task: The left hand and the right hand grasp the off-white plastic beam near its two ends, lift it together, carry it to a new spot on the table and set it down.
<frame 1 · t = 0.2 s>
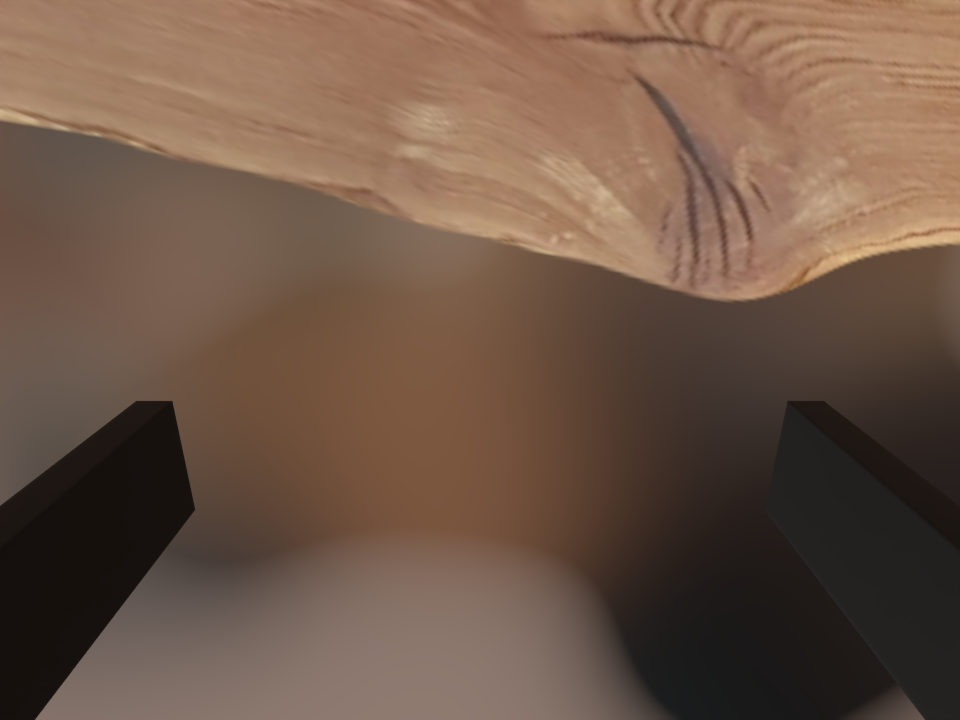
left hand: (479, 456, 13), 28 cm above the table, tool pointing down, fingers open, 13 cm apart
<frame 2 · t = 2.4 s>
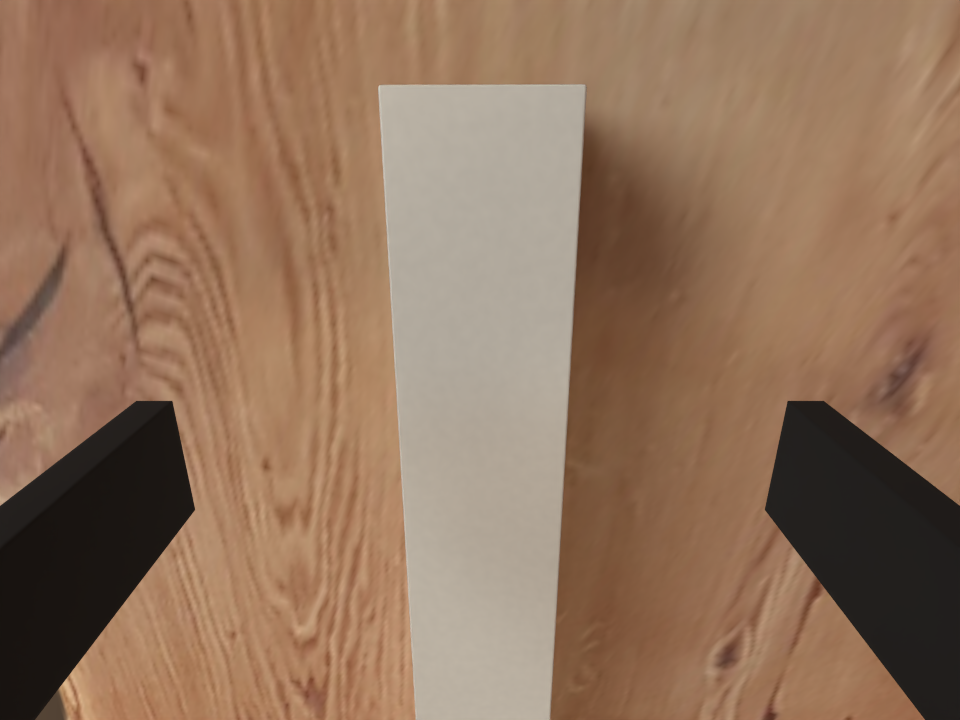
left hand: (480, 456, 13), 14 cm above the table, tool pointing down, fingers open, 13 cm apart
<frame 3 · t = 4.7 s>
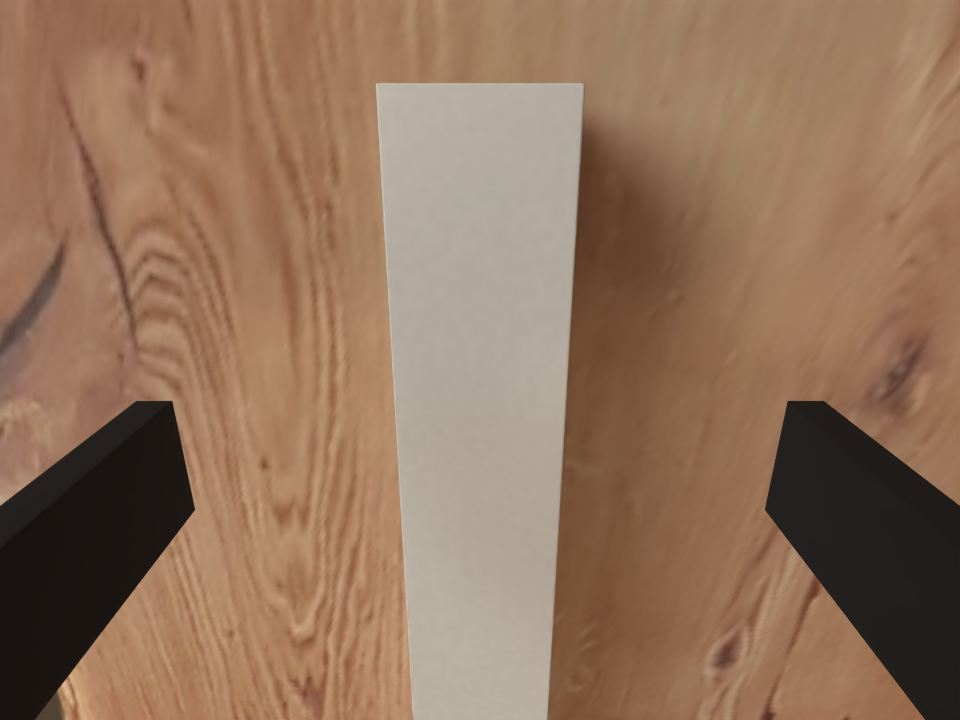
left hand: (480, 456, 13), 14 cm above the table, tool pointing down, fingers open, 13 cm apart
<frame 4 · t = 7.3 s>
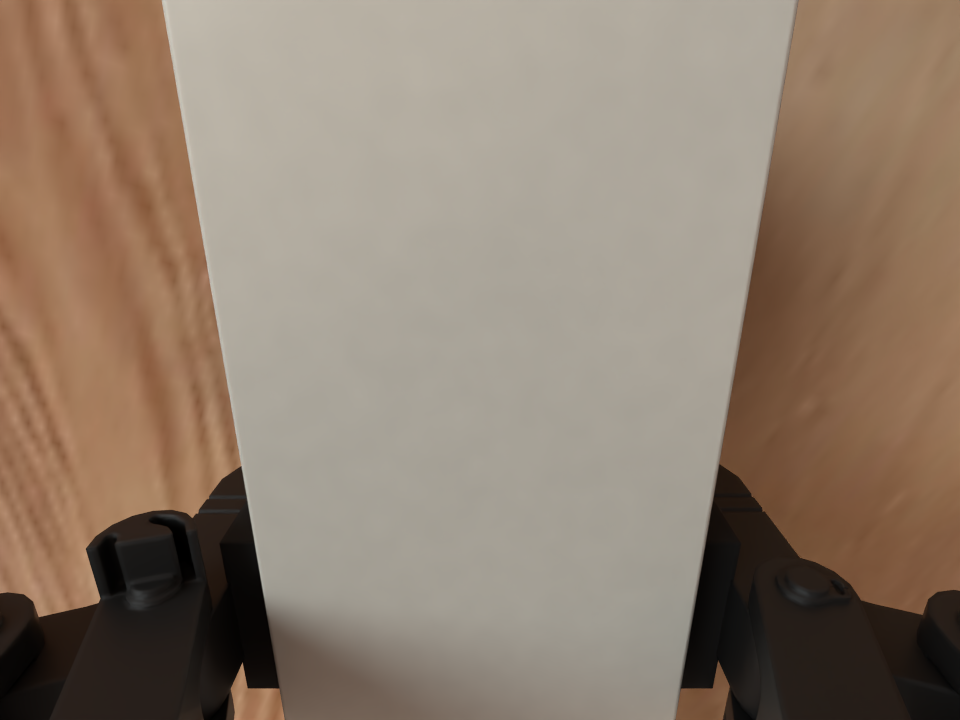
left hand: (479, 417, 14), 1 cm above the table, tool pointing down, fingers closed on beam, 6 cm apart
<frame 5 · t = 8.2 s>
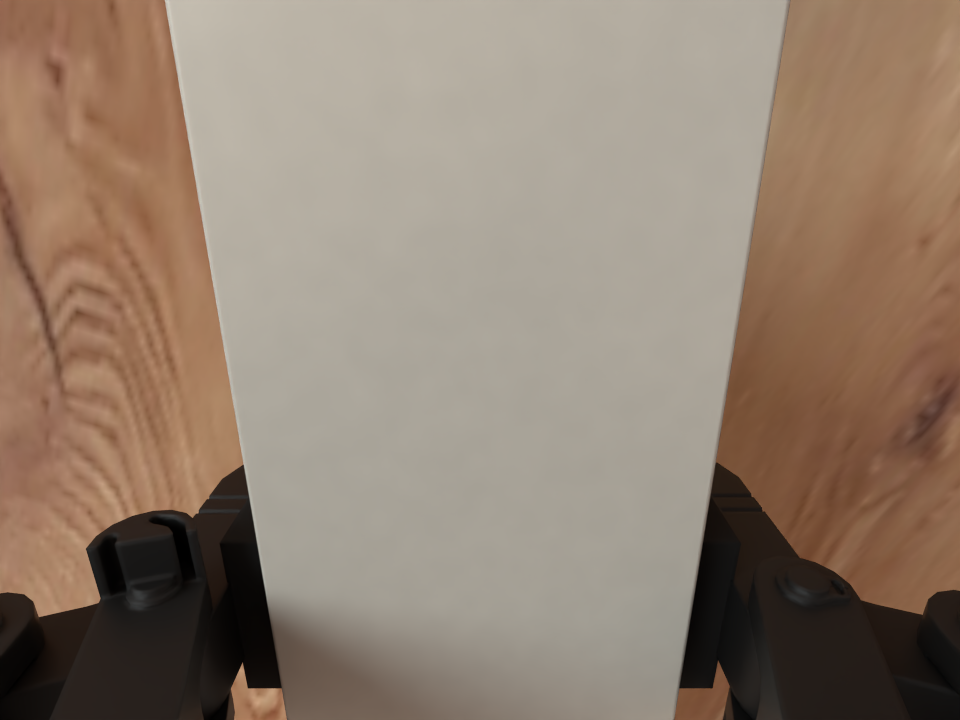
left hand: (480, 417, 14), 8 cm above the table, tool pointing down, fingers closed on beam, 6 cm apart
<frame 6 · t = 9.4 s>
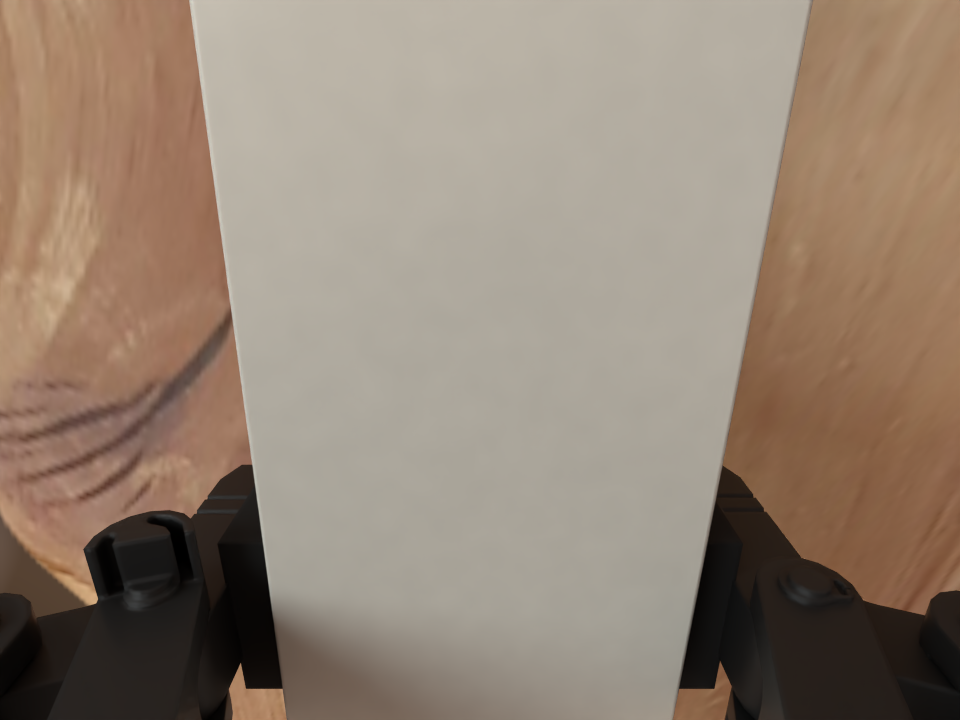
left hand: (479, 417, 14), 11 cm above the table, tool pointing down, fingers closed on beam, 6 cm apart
when the left hand's fingers open (2 cm above the table, at t = 12.0 s): beam drops 1 cm, on the table.
when the right hand's fingers open (4 cm above the table, at t = 12.2 s): beam stays where it is, on the table.
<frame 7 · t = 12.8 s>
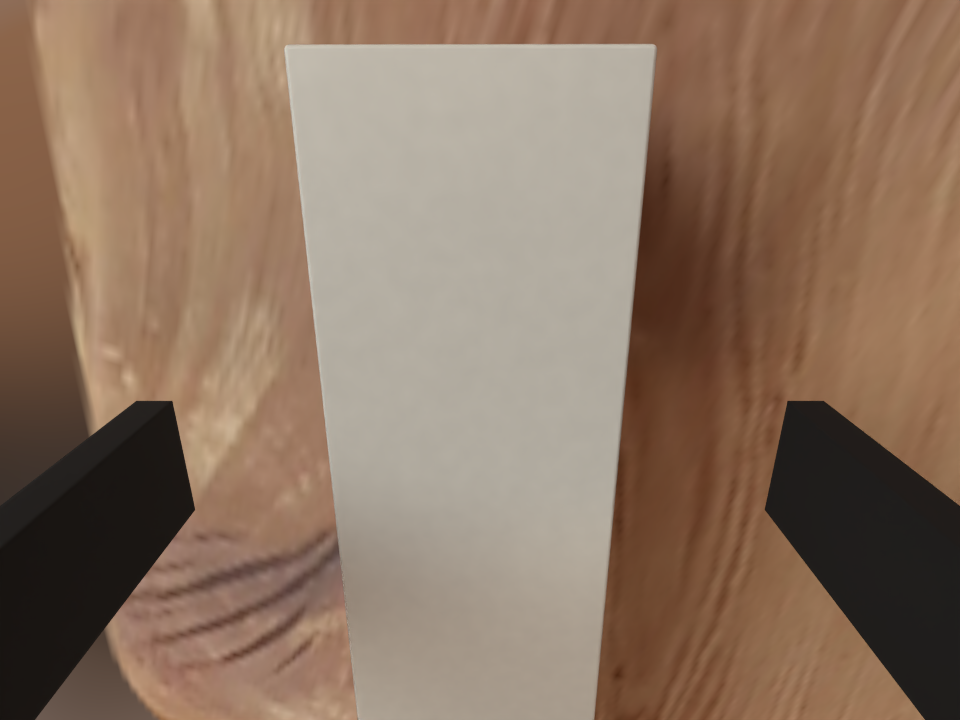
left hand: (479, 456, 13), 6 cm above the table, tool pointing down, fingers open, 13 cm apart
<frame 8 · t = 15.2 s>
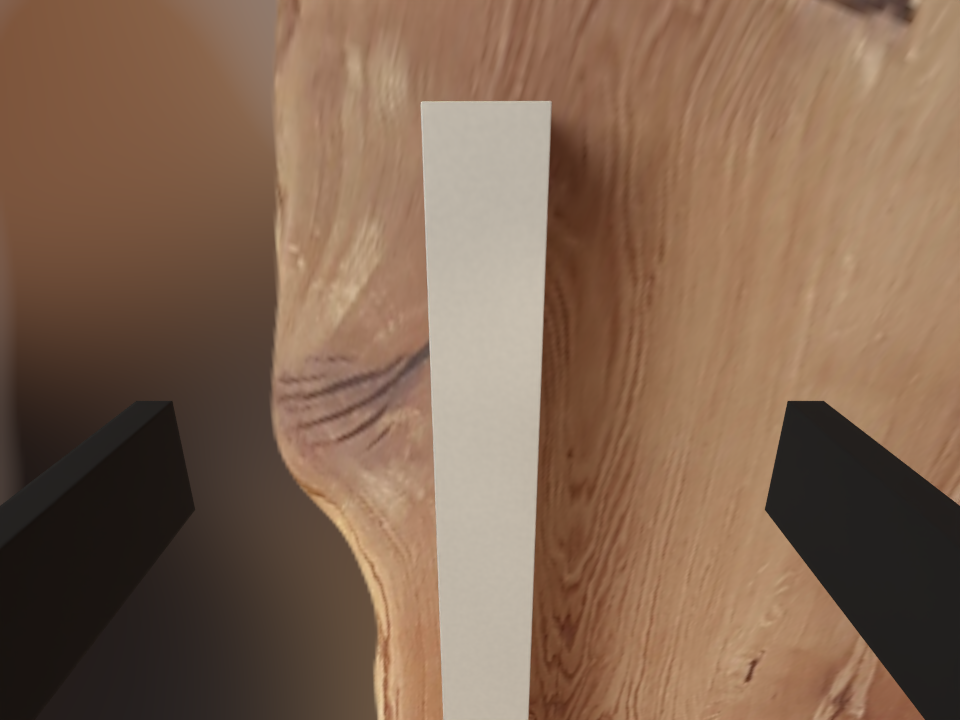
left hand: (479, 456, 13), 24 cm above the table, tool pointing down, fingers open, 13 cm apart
beam: (484, 633, 45), on the table
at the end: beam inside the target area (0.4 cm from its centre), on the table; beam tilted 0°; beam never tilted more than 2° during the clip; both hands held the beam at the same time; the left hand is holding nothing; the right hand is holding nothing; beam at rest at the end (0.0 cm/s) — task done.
